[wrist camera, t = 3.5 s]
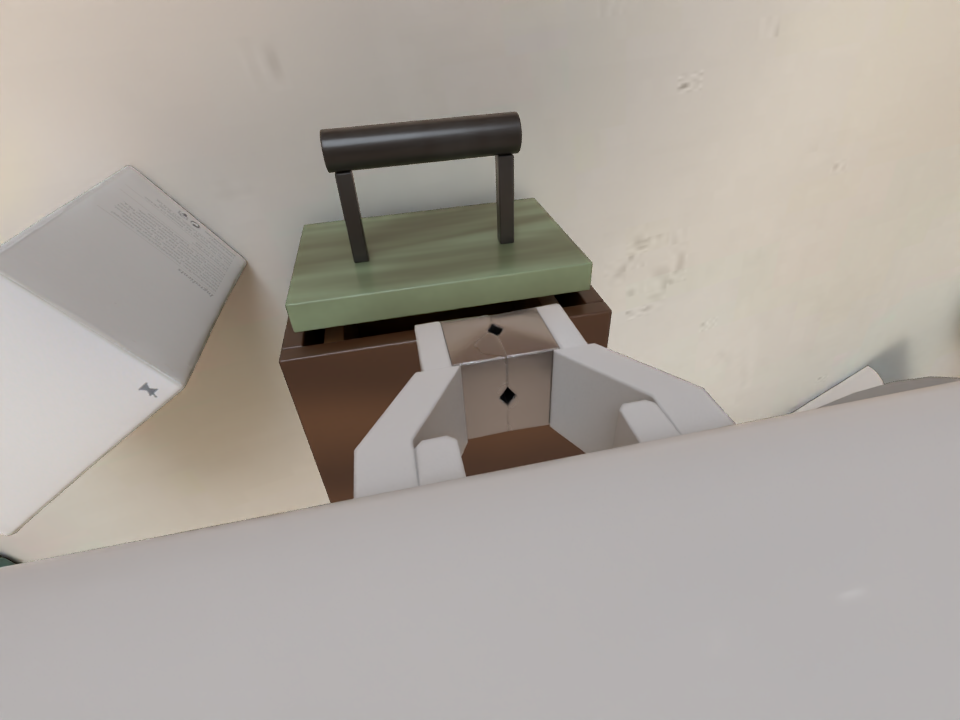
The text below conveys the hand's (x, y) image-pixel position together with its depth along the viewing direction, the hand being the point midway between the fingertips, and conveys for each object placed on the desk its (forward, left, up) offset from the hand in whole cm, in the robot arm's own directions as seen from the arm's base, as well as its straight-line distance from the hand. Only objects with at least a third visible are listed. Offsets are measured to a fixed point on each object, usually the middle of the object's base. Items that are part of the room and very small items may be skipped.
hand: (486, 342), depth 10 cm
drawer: (+7, 0, -15) cm, 17 cm away
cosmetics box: (+5, -15, -17) cm, 23 cm away
